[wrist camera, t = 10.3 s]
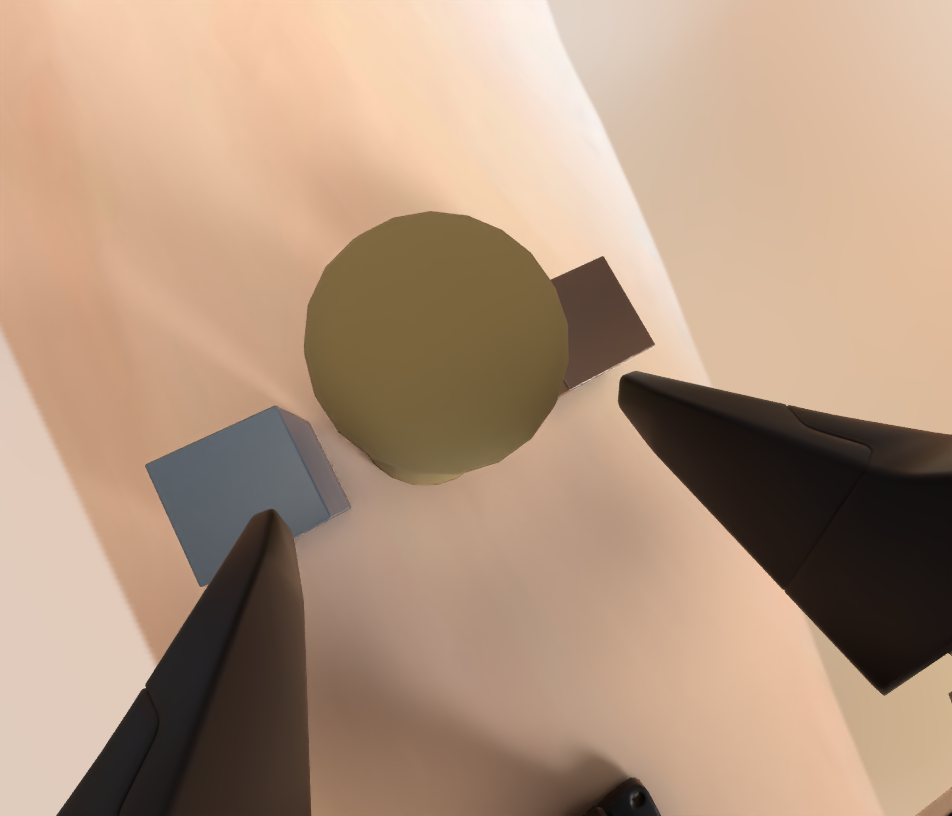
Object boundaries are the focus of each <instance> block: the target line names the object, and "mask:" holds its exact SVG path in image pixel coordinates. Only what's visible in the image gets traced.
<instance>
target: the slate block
mask: <svg viewBox="0 0 952 816" xmlns="http://www.w3.org/2000/svg"><path fill="white" fill-rule="evenodd" d="M145 467H146V469H147V471H148V473H149V476H150V478H151V480H152V482H153V484H154V487H155V489H156V491H157V493H158V495H159V498H160V500H161V502H162V504H163V506H164V509H165V511H166V513H167V515H168V517H169V520H170V522H171V524H172V526H173V528H174V531H175V533H176V535H177V537H178V539H179V542H180V544H181V546H182V548H183V550H184V553H185V555H186V557H187V559H188V561H189V564H190V566H191V568H192V570H193V572H194V575H195V577H196V579H197V581H198V583H199V586H200V587H203V586H205V585H207V584H209V583H210V582H211V580H212V579H213V577H214V576H215V574H216V573H217V571H218V569H219V568H220V566H221V565H222V563H223V562H224V560H225V558H226V557H227V555H228V554H229V552H230V551H231V549H232V547H233V546H234V544H235V543H236V541H237V540H238V538H239V536H240V535H241V533H242V532H243V530H244V529H245V527H246V525H247V524H248V522H249V521H250V519H251V518H252V517H253V516H254V515H255V514H257V513H260V512H263V511H265V510H268V509H274V510H276V511H277V512H278V514H279V515H280V516H281V518H282V519H283V520H284V522H285V523H286V524H287V526H288V527H289V528H290V530H291V532H292V534H293V538H296V537H298V536H300V535H301V534H303V533H305V532H307V531H309V530H311V529H313V528H315V527H316V526H318V525H320V524H322V523H324V522H326V521H328V520H330V519H331V518H333V517H335V516H337V515H339V514H341V513H343V512H345V511H346V510H348V509H350V508H351V506H350V504H349V502H348V500H347V498H346V496H345V494H344V492H343V490H342V488H341V486H340V484H339V482H338V480H337V478H336V476H335V474H334V472H333V470H332V468H331V466H330V464H329V462H328V460H327V458H326V456H325V454H324V452H323V450H322V448H321V446H320V444H319V442H318V440H317V438H316V436H315V434H314V432H313V429H312V427H311V425H310V423H309V422H308V421H305V420H303V419H301V418H299V417H297V416H295V415H293V414H291V413H289V412H287V411H285V410H283V409H281V408H279V407H277V406H273V407H271V408H268V409H266V410H264V411H262V412H260V413H257V414H255V415H253V416H251V417H249V418H246V419H244V420H242V421H240V422H238V423H235V424H233V425H231V426H229V427H227V428H224V429H222V430H220V431H218V432H216V433H214V434H211V435H209V436H207V437H205V438H203V439H200V440H198V441H196V442H194V443H192V444H189V445H187V446H185V447H183V448H181V449H178V450H176V451H174V452H172V453H170V454H167V455H165V456H163V457H161V458H159V459H156V460H154V461H152V462H150V463H148V464H146V465H145Z"/></svg>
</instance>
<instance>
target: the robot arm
mask: <svg viewBox="0 0 952 816" xmlns="http://www.w3.org/2000/svg"><path fill="white" fill-rule="evenodd" d="M618 403H619V406H620V408H621V410H622V411H623V413H624V414H625V415H626V417H627V418H628V419H629V421H630V422H631V423H632V424H633V426H634V427H635V428H636V430H637V431H638V432H639V434H640V435H641V436H642V438H643V439H644V440H645V442H646V443H647V444H648V445H649V447H650V448H651V449H652V450H653V452H654V453H655V454H656V455H657V456H658V457H659V458H660V459H661V460H662V461H663V463H664V464H665V465H666V466H667V467H668V468H669V469H670V470H671V471H672V472H673V473H674V474H675V475H676V476H677V477H678V478H679V480H680V481H681V482H682V483H683V484H684V485H685V486H686V487H687V488H688V489H689V490H690V491H691V492H692V493H693V494H694V496H695V497H696V498H697V499H698V500H699V501H700V502H701V503H702V504H703V505H704V506H705V507H706V508H707V509H708V510H709V511H710V513H711V514H712V515H713V516H714V517H715V518H716V519H717V520H718V521H719V522H720V523H721V524H722V525H723V526H724V527H725V529H726V530H727V531H728V532H729V533H730V534H731V535H732V536H733V537H734V538H735V539H736V540H737V541H738V542H739V543H740V544H741V546H742V547H743V548H744V549H745V550H746V551H747V552H748V553H749V554H750V555H751V556H752V557H753V558H754V559H755V560H756V562H757V563H758V564H759V565H760V566H761V567H762V568H763V569H764V570H765V571H766V572H767V573H768V574H769V575H770V576H771V577H772V579H773V580H774V581H775V582H776V583H777V584H778V585H779V586H780V587H781V588H782V589H783V590H785V593H786V594H787V595H788V596H789V597H790V598H791V599H792V600H793V601H794V602H795V603H796V604H797V605H798V607H799V608H800V609H801V610H802V611H803V612H804V613H805V614H806V615H807V616H808V617H809V618H810V619H811V620H812V621H813V622H814V624H815V625H816V626H817V627H818V628H819V629H820V630H821V631H822V632H823V633H824V634H825V635H826V636H827V637H828V638H829V640H830V641H831V642H832V643H833V644H834V645H835V646H836V647H837V648H838V649H839V650H840V651H841V652H842V653H843V654H844V655H845V657H846V658H847V659H848V660H849V661H850V662H851V663H852V664H853V665H854V666H855V667H856V668H857V669H858V670H859V671H860V673H862V675H863V676H864V677H865V678H866V679H867V680H868V681H869V682H870V683H871V684H872V685H873V686H874V687H875V688H876V689H877V690H878V691H879V692H880V693H881V694H883V695H884V696H885V695H887V694H888V693H890V692H891V691H893V690H894V689H895V688H897V687H898V686H900V685H901V684H903V683H904V682H906V681H907V680H909V679H910V678H911V677H913V676H915V675H916V674H918V673H919V672H920V671H922V670H923V669H925V668H926V667H928V666H929V665H931V664H932V663H934V662H935V661H937V660H938V659H940V658H941V657H942V656H944V655H945V654H947V653H949V654H950V655H951V656H952V435H949V434H942V433H934V432H929V431H923V430H917V429H911V428H905V427H899V426H894V425H888V424H882V423H877V422H871V421H864V420H859V419H854V418H848V417H842V416H837V415H832V414H828V413H823V412H817V411H813V410H808V409H804V408H799V407H795V406H790V405H788V406H786V405H785V404H781V403H777V402H773V401H768V400H763V399H759V398H754V397H750V396H745V395H741V394H737V393H732V392H728V391H723V390H719V389H714V388H710V387H705V386H701V385H696V384H692V383H687V382H683V381H679V380H674V379H670V378H665V377H661V376H656V375H652V374H647V373H643V372H638V371H634V372H631V373H628V374H626V375H623V376H622V377H621V379H620V383H619V395H618ZM145 686H146V688H145V689H142V690H141V692H140V693H139V695H138V697H137V698H136V700H135V701H134V703H133V704H132V706H131V708H130V709H129V711H128V712H127V714H126V715H125V717H124V718H123V720H122V721H121V723H120V724H119V726H118V727H117V729H116V730H115V732H114V733H113V735H112V737H111V738H110V739H109V741H108V743H107V744H106V746H105V747H104V749H103V750H102V752H101V753H100V755H99V756H98V757H97V759H96V760H95V762H94V763H93V765H92V766H91V767H90V769H89V770H88V772H87V773H86V775H85V776H84V777H83V779H82V780H81V782H80V783H79V784H78V786H77V787H76V789H75V790H74V792H73V793H72V795H71V796H70V797H69V799H68V800H67V801H66V803H65V804H64V806H63V807H62V808H61V810H60V811H59V813H58V814H57V815H56V816H311V796H310V767H309V737H308V707H307V678H306V648H305V619H304V600H303V593H302V586H301V580H300V574H299V568H298V562H297V556H296V549H295V543H294V538H293V534H292V532H291V530H290V528H289V527H288V526H287V524H286V523H285V522H284V520H283V519H282V518H281V516H280V515H279V514H278V512H277V511H276V510H274V509H268V510H265V511H263V512H260V513H257V514H255V515H254V516H253V517H252V518H251V519H250V521H249V522H248V524H247V525H246V527H245V529H244V530H243V532H242V533H241V535H240V536H239V538H238V540H237V541H236V543H235V544H234V546H233V547H232V549H231V551H230V552H229V554H228V555H227V557H226V558H225V560H224V562H223V563H222V565H221V566H220V568H219V569H218V571H217V573H216V574H215V576H214V577H213V579H212V580H211V582H210V584H209V585H208V587H207V588H206V590H205V591H204V593H203V595H202V596H201V598H200V599H199V601H198V602H197V604H196V606H195V607H194V609H193V610H192V612H191V613H190V615H189V617H188V618H187V620H186V621H185V623H184V624H183V626H182V628H181V629H180V631H179V632H178V634H177V635H176V637H175V639H174V640H173V642H172V643H171V645H170V646H169V648H168V650H167V651H166V653H165V654H164V656H163V657H162V659H161V661H160V662H159V664H158V665H157V667H156V668H155V670H154V672H153V673H152V675H151V676H150V678H149V679H148V681H147V683H146V685H145ZM949 696H950V699H951V702H952V692H950V693H949ZM638 792H639V793H638ZM635 793H638V796H637V797H636V798H635V799H632V798H633V796H634V794H635ZM583 816H661V815H660V813H659V811H658V809H657V807H656V805H655V803H654V802H653V800H652V798H651V796H650V794H649V792H648V791H647V789H646V788H645V787H644V785H643V784H642V783H641V781H640V780H639V779H637V778H629V779H627V780H626V781H625V782H623V783H622V784H621V785H620V786H619V787H617V788H616V789H615V790H614V791H612V792H611V793H610V794H609V795H608V796H606V797H605V798H604V799H603V800H601V801H600V802H599V803H598V804H597V805H595V806H594V807H593V808H592V809H591V810H589V811H588V812H587V813H586V814H584V815H583ZM916 816H952V788H950V789H949V790H948V791H946V792H945V793H944V794H943V795H941V796H940V797H939V798H938V799H936V800H935V801H934V802H932V803H931V804H930V805H929V806H927V807H926V808H925V809H923V810H922V811H921V812H920V813H918V814H917V815H916Z"/></svg>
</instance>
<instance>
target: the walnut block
mask: <svg viewBox="0 0 952 816" xmlns="http://www.w3.org/2000/svg"><path fill="white" fill-rule="evenodd" d="M551 282H552V283H553V285H554V287H555V288H556V291H557V294H558V297H559V300H560V303H561V306H562V309H563V312H564V315H565V317H566V320H567V323H568V349H569V363H568V366H567V370H566V373H565V376H564V380H563V383H562V386H561V390H560V393H559V396H558V397H560V396H562V395H563V394H565V393H567V392H569V391H571V390H573V389H575V388H577V387H578V386H580V385H582V384H584V383H586V382H588V381H590V380H592V379H593V378H595V377H597V376H599V375H601V374H603V373H605V372H606V371H608V370H610V369H612V368H614V367H616V366H618V365H619V364H621V363H623V362H625V361H627V360H629V359H630V358H632V357H634V356H636V355H638V354H640V353H642V352H643V351H645V350H647V349H649V348H651V347H653V346H654V345H655V344H654V342H653V340H652V338H651V337H650V335H649V333H648V332H647V330H646V328H645V326H644V325H643V323H642V321H641V320H640V318H639V316H638V314H637V313H636V311H635V309H634V308H633V306H632V304H631V302H630V301H629V299H628V297H627V296H626V294H625V292H624V290H623V289H622V287H621V285H620V284H619V282H618V280H617V279H616V277H615V275H614V273H613V272H612V270H611V268H610V267H609V265H608V263H607V261H606V260H605V258H604V257H603V256H602V257H600V258H598V259H595V260H593V261H591V262H589V263H587V264H584V265H582V266H580V267H578V268H576V269H573V270H571V271H569V272H567V273H565V274H562V275H560V276H558V277H556V278H554V279H551Z"/></svg>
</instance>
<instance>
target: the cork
mask: <svg viewBox="0 0 952 816" xmlns="http://www.w3.org/2000/svg"><path fill="white" fill-rule="evenodd" d="M304 353H305V359H306V363H307V367H308V371H309V375H310V378H311V382H312V386H313V390H314V394H315V397H316V399H317V400H318V402H319V403H320V405H321V406H322V408H323V409H324V411H325V412H326V414H327V415H328V417H329V418H330V420H331V421H332V423H333V424H334V426H335V427H336V429H337V430H338V432H339V433H340V434H342V435H343V436H344V437H346V438H347V439H348V440H350V441H351V442H352V443H353V444H355V445H356V446H357V447H359V448H360V449H361V450H363V451H364V452H365V453H367V454H368V456H369V457H370V459H371V460H372V462H373V463H374V464H375V465H376V466H378V467H379V468H380V469H382V470H383V471H384V472H386V473H387V474H388V475H389V476H391V477H393V478H396V479H398V480H401V481H404V482H407V483H410V484H413V485H437V484H440V483H443V482H446V481H449V480H453V479H456V478H458V477H459V476H461V475H462V474H463V473H465V472H468V471H472V470H475V469H478V468H481V467H484V466H488V465H491V464H494V463H497V462H500V461H501V460H502V459H504V458H505V457H506V456H508V455H509V454H511V453H512V452H513V451H515V450H516V449H518V448H519V447H520V446H522V445H523V444H524V443H526V442H527V441H529V440H530V439H531V438H532V437H533V435H534V434H535V433H536V431H537V430H538V428H539V427H540V426H541V424H542V423H543V421H544V420H545V419H546V417H547V416H548V414H549V413H550V412H551V410H552V409H553V407H554V406H555V403H556V401H557V399H558V396H559V393H560V390H561V386H562V383H563V380H564V376H565V373H566V370H567V366H568V363H569V349H568V323H567V320H566V317H565V315H564V312H563V309H562V306H561V303H560V300H559V297H558V294H557V291H556V288H555V287H554V285H553V283H552V282H551V280H550V279H549V277H548V276H547V275H546V273H545V272H544V270H543V269H542V268H541V266H540V265H539V263H538V262H537V261H536V259H535V258H534V257H533V255H532V254H531V252H529V251H528V250H527V249H525V248H524V247H523V246H522V245H520V244H519V243H518V242H517V241H515V240H514V239H513V238H512V237H510V236H509V235H508V234H506V233H505V232H504V231H503V230H501V229H499V228H496V227H494V226H491V225H489V224H486V223H484V222H482V221H479V220H477V219H474V218H472V217H470V216H466V215H457V214H449V213H440V212H432V211H430V212H424V213H418V214H412V215H407V216H401V217H395V218H392V219H390V220H388V221H386V222H384V223H382V224H380V225H378V226H376V227H374V228H373V229H371V230H369V231H367V232H365V233H363V234H361V235H359V236H358V237H356V238H354V239H353V240H352V241H351V242H350V243H349V244H348V245H347V246H346V247H345V248H344V249H343V250H342V251H341V252H340V253H339V254H338V255H337V256H336V257H335V258H334V259H333V260H332V261H331V262H330V263H329V264H328V265H327V266H326V267H325V269H324V271H323V274H322V276H321V278H320V280H319V282H318V284H317V286H316V288H315V291H314V293H313V295H312V297H311V299H310V301H309V303H308V310H307V320H306V330H305V341H304Z"/></svg>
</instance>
